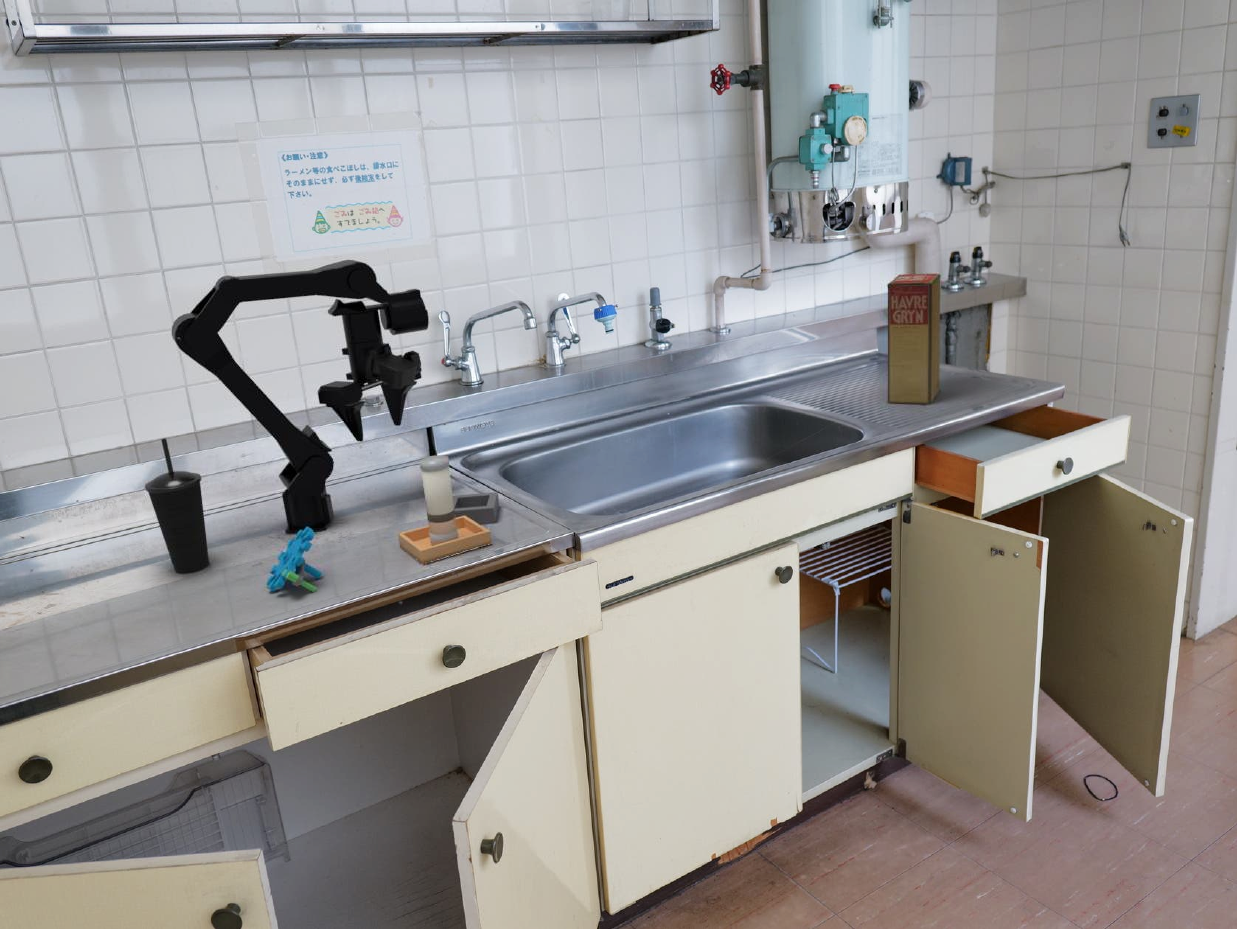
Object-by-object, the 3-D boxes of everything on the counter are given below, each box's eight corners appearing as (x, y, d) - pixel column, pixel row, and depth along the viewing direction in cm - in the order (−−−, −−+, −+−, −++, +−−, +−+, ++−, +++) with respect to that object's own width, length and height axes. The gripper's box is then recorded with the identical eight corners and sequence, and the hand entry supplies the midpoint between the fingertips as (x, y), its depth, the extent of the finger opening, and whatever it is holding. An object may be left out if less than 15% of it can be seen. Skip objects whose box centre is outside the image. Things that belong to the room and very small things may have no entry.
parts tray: (422, 565, 143) (420, 550, 142) (399, 547, 150) (397, 533, 149) (491, 544, 148) (489, 531, 147) (466, 528, 155) (464, 515, 155)
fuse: (425, 546, 148) (413, 463, 144) (441, 535, 151) (430, 454, 148) (448, 548, 146) (437, 465, 142) (464, 538, 150) (454, 456, 146)
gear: (265, 563, 144) (307, 512, 142) (300, 583, 146) (342, 533, 145) (259, 603, 134) (304, 550, 132) (297, 624, 136) (341, 571, 135)
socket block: (447, 526, 157) (445, 511, 156) (453, 510, 164) (451, 495, 163) (495, 522, 157) (493, 507, 156) (499, 506, 164) (497, 492, 163)
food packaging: (896, 388, 218) (897, 273, 211) (941, 389, 214) (944, 272, 207) (885, 403, 207) (886, 282, 199) (932, 405, 203) (934, 282, 195)
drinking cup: (185, 581, 144) (155, 449, 138) (153, 572, 148) (123, 444, 142) (230, 561, 150) (203, 434, 144) (198, 553, 154) (171, 429, 148)
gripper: (362, 353, 148) (378, 453, 152) (440, 329, 163) (452, 420, 168) (307, 351, 153) (324, 448, 158) (388, 328, 168) (402, 417, 173)
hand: (379, 433), depth 164 cm, fingers open, 9 cm apart
